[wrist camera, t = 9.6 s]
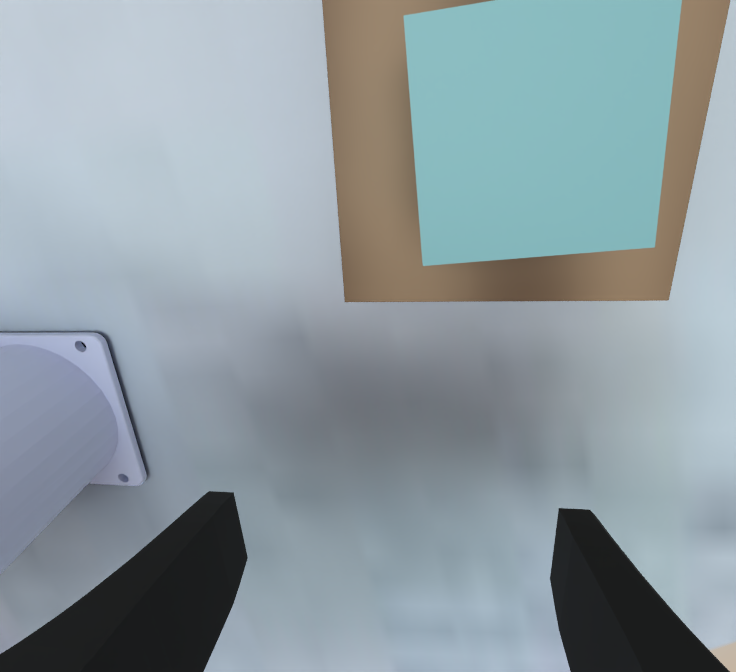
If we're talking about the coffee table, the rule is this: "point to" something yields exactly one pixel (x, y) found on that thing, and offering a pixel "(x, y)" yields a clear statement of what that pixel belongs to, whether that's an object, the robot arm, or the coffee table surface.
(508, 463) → the coffee table surface
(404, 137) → the walnut block
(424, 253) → the teal block
